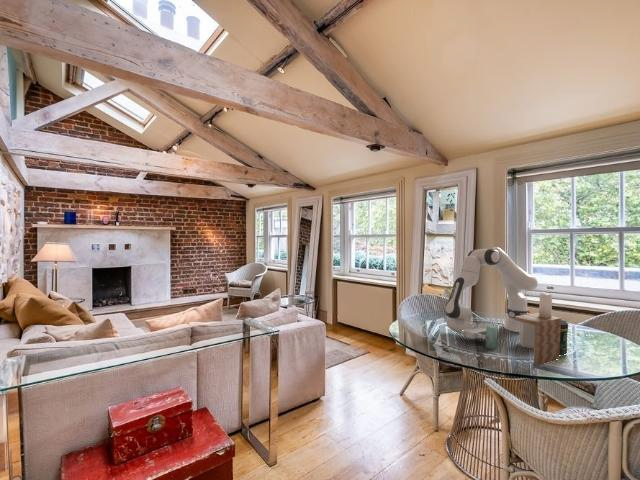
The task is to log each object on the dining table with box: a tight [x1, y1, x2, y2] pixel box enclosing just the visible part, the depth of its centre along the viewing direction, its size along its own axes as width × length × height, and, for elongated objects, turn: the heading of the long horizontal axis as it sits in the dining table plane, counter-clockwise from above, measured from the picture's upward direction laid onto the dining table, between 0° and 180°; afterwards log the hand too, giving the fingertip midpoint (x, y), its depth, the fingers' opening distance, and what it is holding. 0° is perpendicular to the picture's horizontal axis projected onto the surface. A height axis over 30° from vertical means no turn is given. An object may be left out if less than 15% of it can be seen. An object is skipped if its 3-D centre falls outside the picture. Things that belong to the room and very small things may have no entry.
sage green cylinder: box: [485, 325, 498, 351], centre depth 182 cm, size 5×5×12 cm
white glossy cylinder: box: [538, 292, 553, 318], centre depth 168 cm, size 5×5×12 cm
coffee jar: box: [559, 319, 569, 356], centre depth 175 cm, size 10×8×19 cm
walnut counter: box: [514, 312, 562, 366], centre depth 167 cm, size 20×12×22 cm, turn 117°
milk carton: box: [518, 313, 535, 349], centre depth 186 cm, size 7×7×19 cm
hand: (491, 336), depth 182 cm, fingers open, 8 cm apart
